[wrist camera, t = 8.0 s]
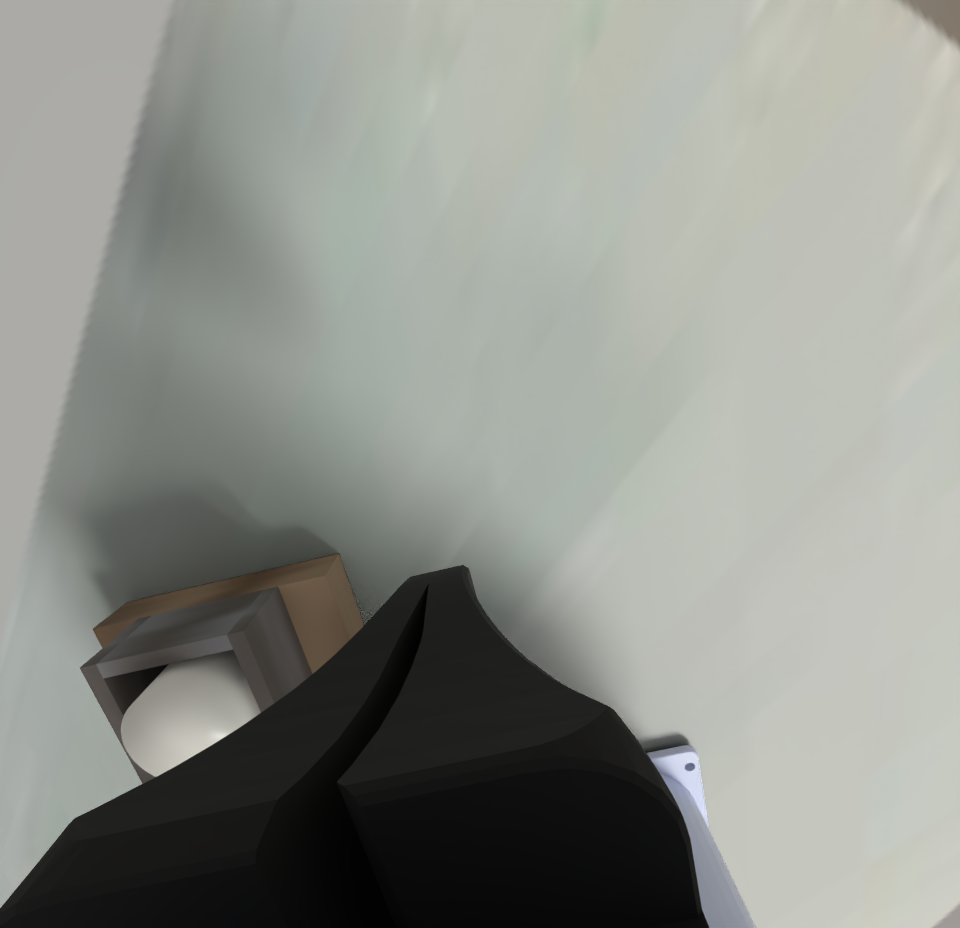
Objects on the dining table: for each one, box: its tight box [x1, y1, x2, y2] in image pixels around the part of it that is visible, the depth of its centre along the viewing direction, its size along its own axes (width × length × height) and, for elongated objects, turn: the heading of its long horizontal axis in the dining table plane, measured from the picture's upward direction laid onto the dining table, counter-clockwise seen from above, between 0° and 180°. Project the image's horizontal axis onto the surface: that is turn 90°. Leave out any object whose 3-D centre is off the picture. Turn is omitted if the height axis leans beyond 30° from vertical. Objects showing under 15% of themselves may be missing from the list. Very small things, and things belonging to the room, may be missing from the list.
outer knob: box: [121, 650, 261, 777], centre depth 18 cm, size 4×4×4 cm
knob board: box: [80, 554, 364, 784], centre depth 21 cm, size 10×18×5 cm, turn 14°
